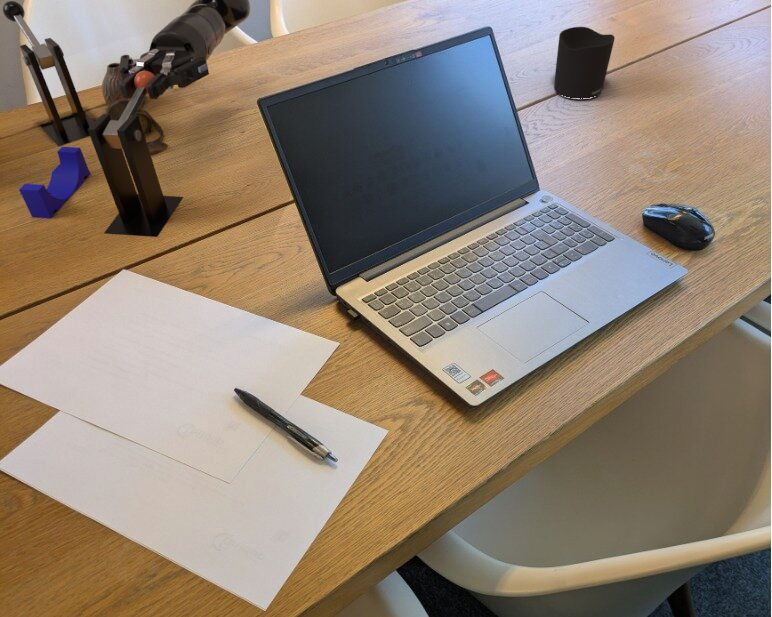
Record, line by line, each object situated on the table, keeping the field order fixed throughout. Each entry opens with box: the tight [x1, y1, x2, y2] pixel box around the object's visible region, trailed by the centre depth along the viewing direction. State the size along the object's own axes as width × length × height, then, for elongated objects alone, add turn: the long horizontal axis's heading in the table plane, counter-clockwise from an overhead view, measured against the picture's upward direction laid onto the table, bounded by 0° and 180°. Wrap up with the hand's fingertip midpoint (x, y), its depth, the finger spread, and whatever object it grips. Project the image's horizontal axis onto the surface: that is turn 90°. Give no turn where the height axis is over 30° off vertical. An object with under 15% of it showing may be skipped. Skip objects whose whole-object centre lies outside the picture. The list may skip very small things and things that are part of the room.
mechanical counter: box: [104, 98, 168, 156], centre depth 110 cm, size 7×13×10 cm
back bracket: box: [19, 37, 95, 148], centre depth 111 cm, size 10×8×16 cm
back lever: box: [2, 0, 55, 71], centre depth 108 cm, size 14×3×3 cm, turn 38°
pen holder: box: [553, 26, 616, 99], centre depth 119 cm, size 9×9×10 cm
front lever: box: [102, 71, 155, 150], centre depth 90 cm, size 14×3×3 cm, turn 171°
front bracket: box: [88, 113, 184, 238], centre depth 91 cm, size 10×8×16 cm
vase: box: [101, 62, 145, 108], centre depth 120 cm, size 7×7×9 cm
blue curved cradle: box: [18, 146, 91, 219], centre depth 99 cm, size 12×4×6 cm, turn 171°
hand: (138, 92), depth 91 cm, fingers closed on front lever, 3 cm apart
